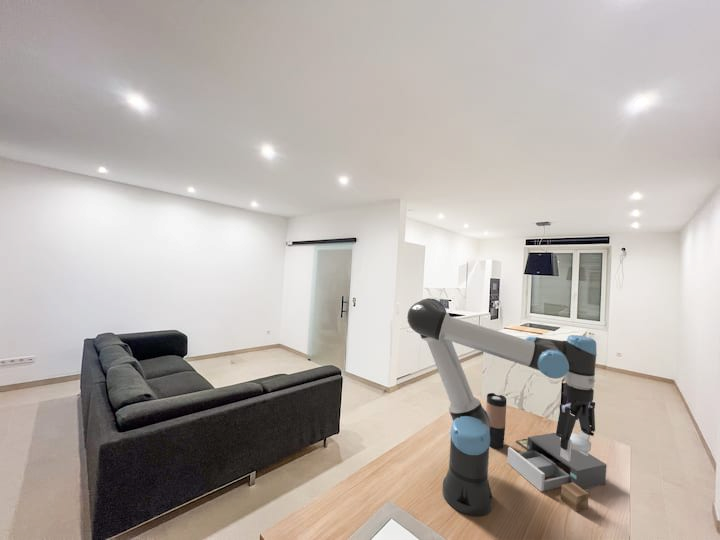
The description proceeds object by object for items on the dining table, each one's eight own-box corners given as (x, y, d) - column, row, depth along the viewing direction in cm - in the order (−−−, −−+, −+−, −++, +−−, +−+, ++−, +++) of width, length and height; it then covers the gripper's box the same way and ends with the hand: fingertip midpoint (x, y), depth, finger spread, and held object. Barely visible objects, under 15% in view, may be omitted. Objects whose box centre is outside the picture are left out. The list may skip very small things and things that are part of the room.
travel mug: (492, 450, 122) (495, 401, 121) (480, 439, 129) (482, 393, 129) (508, 448, 124) (511, 400, 123) (495, 437, 131) (497, 392, 131)
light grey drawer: (541, 491, 100) (542, 474, 100) (507, 462, 114) (508, 447, 114) (570, 484, 104) (571, 468, 104) (534, 457, 118) (535, 442, 118)
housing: (573, 491, 101) (575, 471, 101) (525, 454, 120) (526, 437, 120) (605, 483, 105) (606, 464, 105) (553, 449, 124) (554, 432, 124)
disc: (580, 454, 91) (580, 448, 91) (554, 439, 98) (554, 434, 98) (596, 449, 94) (597, 444, 93) (570, 435, 101) (571, 430, 101)
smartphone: (547, 466, 114) (547, 463, 114) (515, 443, 128) (516, 440, 128) (563, 463, 117) (563, 459, 117) (530, 440, 131) (530, 437, 131)
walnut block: (575, 511, 92) (576, 496, 92) (560, 499, 97) (561, 484, 97) (587, 508, 94) (588, 493, 94) (572, 496, 99) (573, 482, 99)
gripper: (569, 394, 88) (564, 470, 89) (612, 386, 96) (607, 456, 96) (544, 384, 95) (540, 454, 96) (587, 377, 103) (583, 443, 103)
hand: (574, 455), depth 96 cm, fingers closed on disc, 8 cm apart
